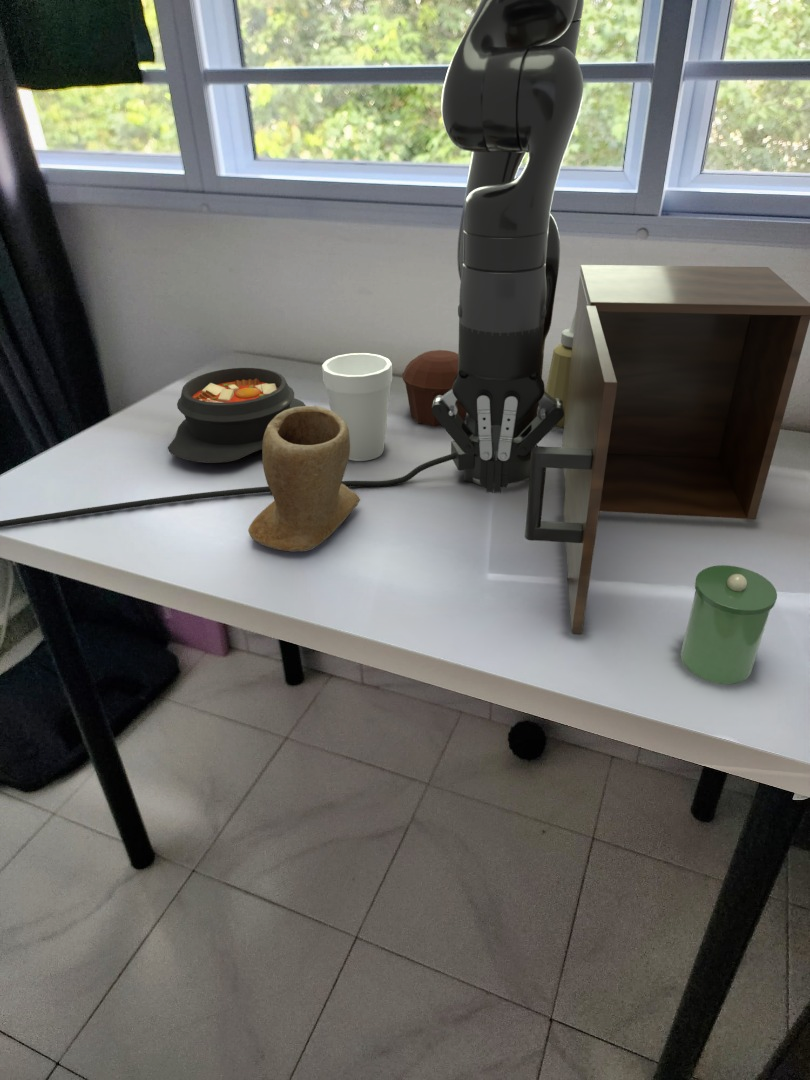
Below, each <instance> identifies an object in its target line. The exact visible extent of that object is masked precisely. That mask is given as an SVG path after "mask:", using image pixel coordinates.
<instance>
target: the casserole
mask: <svg viewBox="0 0 810 1080" xmlns="http://www.w3.org/2000/svg"><path fill="white" fill-rule="evenodd" d="M176 406H177V410H178V411H179V412H180V413H181V414H182V415H183V416H184V418H185V419H184V420H182V422H181V423H180V424H179V425H178V427H177V430H176V433H175V437H174V438H173V439H172V441H171V442H170V444H169V445H168V446H167V451H168V453H169V454H171V455H172V456H174V457H177V458H179V459H182V460H185V461H186V460H187V461H190V462H197V463H206V464H207V463H209V464H222V463H231V462H236V461H238V460H240V459H243V458H245V457H247V456H249V455H251V454H253V453H256V452H258V451H262V444H263V437H264V433H265V430H266V428H267V426H268V424H269V423H270V422H271V420H272V419H273V418H274V417H275V416H276V415H277V414H279V413H281V412H282V411H284V410H287V409H290V408H294V407H300V406H307V405H306V404H305V403H304V402H303V401H302V400H300V399H298V398H295V391H294V390H293V388H292V387H290V386H289V384H288V382H287V380H286V378H285V377H284V376H283V375H282V374H280V373H278V372H277V371H273V370H271V369H265V368H259V367H232V368H224V369H218V370H213V371H209V372H206V373H203V374H200V375H198V376H196V377H194V378H191V379H190V380H188V381H187V382H186V383H185V384H184V385H183V386H182V389H181V392H180V397H179V398H178V400H177V402H176Z"/></svg>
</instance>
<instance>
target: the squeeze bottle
mask: <svg viewBox="0 0 810 1080" xmlns="http://www.w3.org/2000/svg"><path fill="white" fill-rule="evenodd" d="M575 317H576V310H575V311H574V315H573V318H572V321H571V324H570V326H569V328H566V329H563V330H562V331H561V337H560V344H558V345H556V346H555V347H554V349H553V351H552V356H551V362H550V367H549V371H548V377H547V382H546V387H545V392H546V393H547V394H549V395H550V396H551V397H552V398H554V399H555V398H559V399H561V400H562V401H563V407H564V417H563V418H562V419H561V420H560V421H559V422H558V423H557V424H556V425H555V426H557V427H559V428H564V423H565V413H566V404H567V394H568V385H569V375H570V365H571V356H572V346H573V336H574V327H575Z"/></svg>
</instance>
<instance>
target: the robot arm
mask: <svg viewBox="0 0 810 1080" xmlns="http://www.w3.org/2000/svg"><path fill="white" fill-rule="evenodd" d="M584 1H585V0H480V2H479V4H478V6H477V9H476V10H475V13H474V15H473V17H472V20H471V21H470V23H469V25H468V27H467V29H466V31H465V33H464V34H463V36H462V38H461V40H460V42H459V44H458V46H457V48H456V49H455V52H454V54H453V57H452V59H451V61H450V64H449V66H448V68H447V72H446V75H445V79H444V82H443V87H442V91H441V102H440V103H441V104H440V105H441V107H440V111H441V118H442V124H443V127H444V129H445V133H446V135H447V136H448V138H449V140H450V141H451V143H453V144H454V145H455V146H456V147H457V148H458V149H460V150H462V151H466V152H471V158H470V162H469V163H470V164H469V169H468V174H467V175H468V176H467V181H466V186H465V193H464V200H463V205H462V212H461V218H460V223H459V231H458V238H457V247H456V248H457V249H456V251H457V253H456V262H457V263H456V264H457V272H458V278H459V281H460V284H459V295H458V296H459V297H458V298H459V299H458V300H459V301H458V306H457V316H458V352H457V354H458V374H457V376H456V378H455V379H454V382H453V386H452V389H451V390H450V391H448V392H447V393H446V394H444V395H443V396H442V395H438V396H436V397H435V398H434V401H433V404H432V409H431V412H432V414H433V415H434V416H435V418H436V419H437V420H438V421H439V422H440V424H441V425H442V426H441V427H442V428H443V429H444V430H445V431H446V432H447V434H448V435H449V436H450V438H451V439H452V440H451V441H450V442H451V443H450V454H446V455H444V456H441V457H437V458H435V459H432V460H429V461H427V462H424V463H422V464H420V465H418V466H416V467H415V468H413V469H412V470H411V471H409V472H408V473H406V474H405V475H403V476H401V477H397V478H393V479H387V480H342V483H341V484H344V485H345V486H347V487H348V488H349V487H360V488H361V487H363V488H365V487H367V488H380V487H391V486H396V485H399V484H403V483H407V482H408V481H410V480H412V479H413V478H414V477H415V476H417V475H418V474H419V473H421V472H423V471H424V470H427V469H429V468H432V467H435V466H437V465H440V464H444V463H446V462H449V461H453V463H454V465H455V468H456V469H457V470H458V471H464V473H463V474H464V478H463V479H464V482H467V483H474V484H476V485H478V486H480V487H481V488H486V492H485V493H488V494H489V493H491V494H501V493H502V489H503V488H504V489H506V488H507V487H508V485H509V484H513V483H518V482H522V481H524V480H526V479H527V480H528V479H529V474H530V461H531V449H532V448H533V447H537V446H538V444H539V443H540V442H541V441H542V440H543V439H544V438H545V437H546V436H547V435H548V434H549V433H550V432H551V431H552V429H553V428H555V426H556V424H557V423H558V422H559V421H560V420H561V419H562V418H563V417H564V407H563V401H562V400H561V399H559V398H555V399H554V398H552V397H551V396H550V395H549V394H547V393H546V387H545V382H544V380H543V371H544V370H543V369H544V359H545V358H544V355H545V345H546V339H547V338H548V335H549V332H550V330H551V325H552V321H553V312H554V304H555V300H556V299H555V298H556V291H557V285H558V284H557V283H558V278H559V272H560V271H559V270H560V260H561V241H560V232H559V229H558V225H557V222H556V219H555V218H554V217H553V215H552V214H551V209H552V204H553V200H554V199H553V198H554V193H555V190H556V189H555V188H556V184H557V181H558V179H559V175H560V172H561V167H562V164H563V161H564V158H565V155H566V152H567V150H568V147H569V144H570V141H571V139H572V135H573V133H574V131H575V127H576V124H577V122H578V118H579V115H580V112H581V107H582V104H583V99H584V78H583V77H584V76H583V71H582V69H581V66H580V63H579V61H578V59H577V57H576V56H577V48H578V41H579V35H580V29H581V24H582V20H581V19H582V18H583V10H584ZM526 154H527V159H526V162H525V164H524V165H525V166H524V168H523V169H522V171H521V172H520V174H519V175H518V176H517V174H518V171H519V169H520V167H521V165H522V163H523V160H524V158H525V156H526ZM457 400H458V401H459V403H460V404H461V405H462V407H463V408H464V409H465V411H466V412H467V413H466V416H465V420H464V421H463V419H462V418H461V417H460V416H459V414H458V413H457V412H458V404H457V402H456V401H457ZM262 493H263V494H264V493H272V492H271V490H270V488H269V486H268V485H266V486H257V487H256V486H255V487H245V488H236V489H224V490H216V491H215V490H213V491H205V492H198V493H189V494H180V495H171V496H165V497H164V496H163V497H155V498H149V499H140V500H134V501H126V502H119V503H113V504H106V505H98V506H92V507H83V508H78V509H72V510H71V509H70V510H64V511H58V512H52V513H45V514H39V515H38V514H37V515H31V516H24V517H18V518H11V519H4V520H0V528H5V527H11V526H19V525H24V524H31V523H38V522H43V521H44V522H45V521H51V520H57V519H58V520H59V519H65V518H71V517H78V516H84V515H92V514H97V513H105V512H111V511H120V510H125V509H126V510H127V509H133V508H139V507H146V506H155V505H161V504H162V505H163V504H170V503H177V502H187V501H195V500H203V499H210V498H211V499H212V498H213V499H214V498H221V497H230V496H232V497H233V496H240V495H241V496H242V495H253V494H262Z"/></svg>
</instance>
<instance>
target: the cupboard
mask: <svg viewBox="0 0 810 1080" xmlns="http://www.w3.org/2000/svg"><path fill="white" fill-rule="evenodd" d="M579 271H580V272H579V280H578V289H577V290H578V291H577V298H576V299H577V300H576V308H575V311H576V317H575V327H574V336H573V346H572V356H571V365H570V375H569V385H568V394H567V404H566V413H565V423H564V427H563V433H562V434H563V435H562V444H561V448H571V439H572V429H573V420H574V411H575V402H576V393H577V384H578V375H579V366H580V357H581V348H582V339H583V330H584V321H585V312H586V306H596V308H597V312H598V316H599V319H600V323H601V326H602V330H603V334H604V337H605V341H606V344H607V348H608V352H609V355H610V359H611V362H612V366H613V370H614V373H615V377H616V380H617V388H616V396H615V403H614V410H613V417H612V424H611V431H610V438H609V445H608V452H607V460H606V467H605V474H604V481H603V488H602V495H601V502H600V509H599V512H605V513H606V512H607V513H622V514H623V513H624V514H625V513H626V514H643V515H644V514H646V515H663V516H683V517H700V518H701V517H703V518H722V519H740V520H757V516H758V512H759V508H760V505H761V501H762V497H763V493H764V490H765V486H766V483H767V479H768V476H769V471H770V468H771V464H772V461H773V458H774V454H775V451H776V446H777V442H778V439H779V435H780V431H781V428H782V424H783V421H784V418H785V413H786V409H787V406H788V402H789V398H790V395H791V391H792V388H793V384H794V380H795V377H796V373H797V369H798V366H799V362H800V358H801V355H802V351H803V347H804V343H805V340H806V337H807V333H808V329H809V325H810V302H809V301H808V300H807V299H805V297H804V296H803V295H801V294H800V293H799V292H797V291H796V290H795V288H793V287H792V286H791V285H790V284H788V282H786V281H785V280H784V279H783V278H781V277H780V276H779V275H778V274H777V273H776V272H775V271H773V270H772V268H770V267H769V266H718V265H717V266H712V265H711V266H707V265H706V266H705V265H703V266H702V265H634V264H633V265H632V264H631V265H630V264H629V265H626V264H625V265H622V264H621V265H620V264H619V265H617V264H580V270H579ZM567 475H568V469H566V468H563V477H564V490H565V491H566V484H567Z"/></svg>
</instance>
